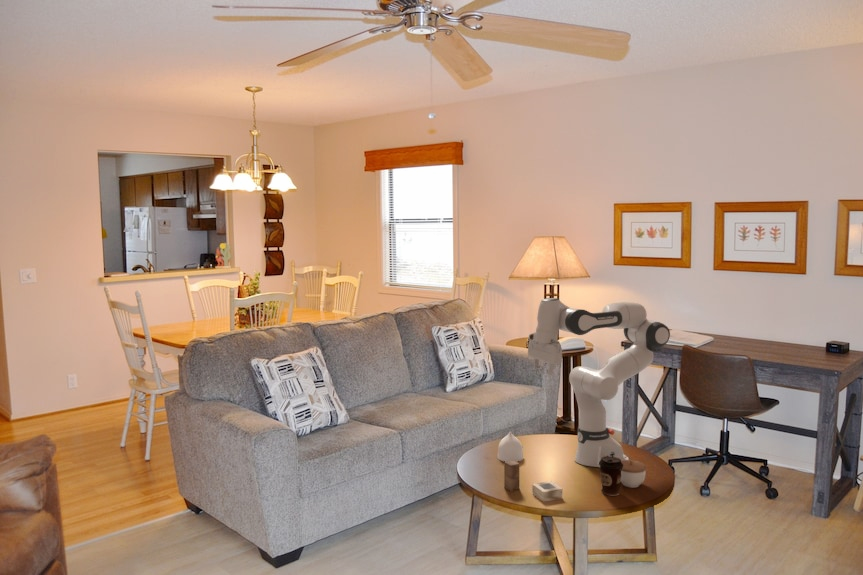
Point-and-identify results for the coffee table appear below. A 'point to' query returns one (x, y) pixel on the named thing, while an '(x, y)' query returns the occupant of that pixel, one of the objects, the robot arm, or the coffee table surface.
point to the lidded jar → (632, 473)
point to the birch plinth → (547, 491)
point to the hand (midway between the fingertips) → (542, 372)
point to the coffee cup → (610, 475)
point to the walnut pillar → (511, 475)
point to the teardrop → (510, 449)
